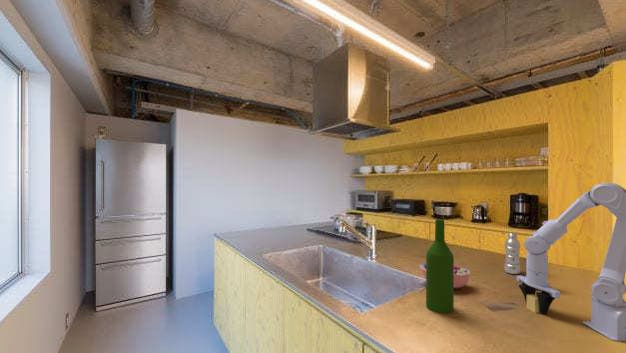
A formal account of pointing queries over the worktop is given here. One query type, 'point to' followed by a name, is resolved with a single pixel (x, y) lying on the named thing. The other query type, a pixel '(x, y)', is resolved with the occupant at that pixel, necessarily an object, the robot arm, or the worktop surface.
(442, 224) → the wine bottle
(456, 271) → the cell model
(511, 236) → the plastic bottle
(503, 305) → the walnut base
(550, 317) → the worktop surface
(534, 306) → the ochre block
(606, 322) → the robot arm
